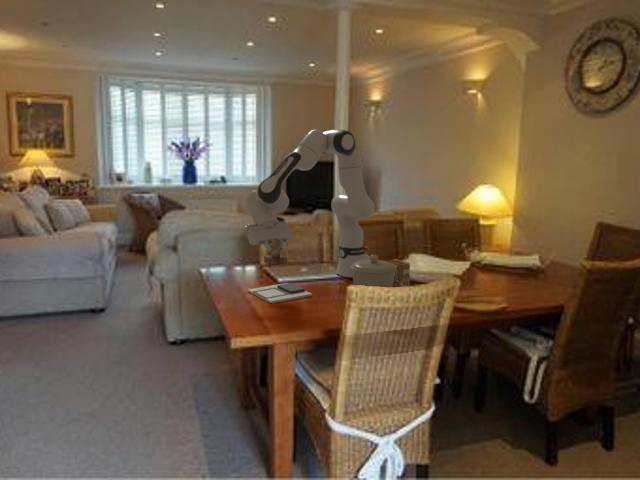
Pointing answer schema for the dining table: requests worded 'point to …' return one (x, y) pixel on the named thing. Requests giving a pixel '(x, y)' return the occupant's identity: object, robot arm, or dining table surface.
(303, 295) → the stamp board
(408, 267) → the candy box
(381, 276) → the canister
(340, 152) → the robot arm
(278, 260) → the stamp
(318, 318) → the dining table surface
